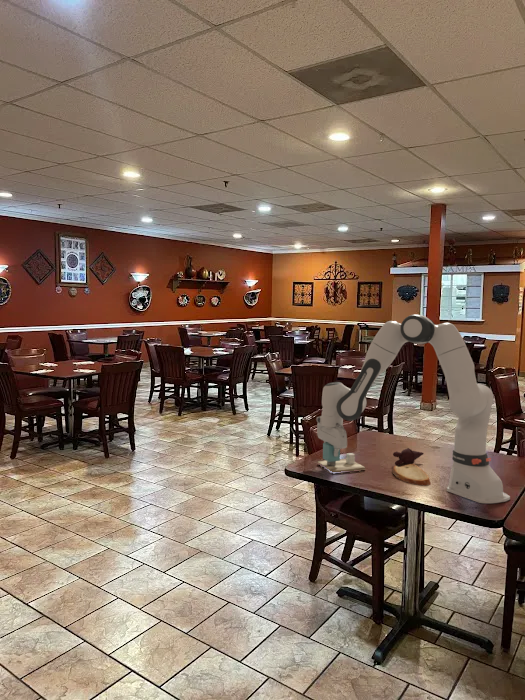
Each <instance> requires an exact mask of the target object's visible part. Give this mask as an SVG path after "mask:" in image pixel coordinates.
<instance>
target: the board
mask: <svg viewBox="0 0 525 700" xmlns="http://www.w3.org/2000/svg"><path fill="white" fill-rule="evenodd" d="M317 462H318V463H320V464H322V465H323V466H325V467H326V468H327V469H329V470H330V471H332V472H341V471H354V470H365V471H366V467H365V466H364V465H362V464H360V463H358V462H356V461H355V464H347V463H346V458H340V461H336V466H328V465H327V461H326V460H318V461H316V463H317Z"/></svg>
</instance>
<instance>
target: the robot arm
mask: <svg viewBox="0 0 525 700" xmlns="http://www.w3.org/2000/svg"><path fill="white" fill-rule="evenodd" d="M408 342H409V343H413V344H414V345H415V344H416V345H425V344H430V345H431V346H432V347H433V350H434V352H435V355H436V357H437V359H438V361H439V364H440V367H441V370H442V373H443V375H444V377H445V382H446V386H447V392H448V397H449V400H448V407H449V409H450V411H451V412H452V413H453V414H454V415H456V416H457V417H458V418H457V423H456V426H455V428H454V442H453V443H454V444H453V450H452V453H451V455H452V462H453V463H452V466H451V469H450V474H449V481H448V484H447V487H446V491H447V492H449V493H452V494H454V495H457V496H459V497H463V498H465V499H468V500H471V501H474V502H476V503H479V504H499V503H504V502H508V501H510V500H511V496H510V495H508V493H506V492H504V487H503V481H502V480H501V478H500V476H498V474H497V473H496V472H495V471H494V470H493V468H492V467H491V466H490V462H491V461H492V458H491V457H488V454H487V437H488V436H487V435H488V428H489V423H490V417H491V411H492V407H493V406H492V405H493V401H494V394H493V391H492V390H491V388H490V387H489V386H487V385H485V384H481V383H477V378H476V372H475V363H474V361H473V358H472V357H471V354H470V351H469V348H468V347H467V345H466V343H465V340H464V338H463V336H462V335H461V333H460V332H459V330H458V328H457V327H456V326H455V325H454V324H453V323H450V322H443V323H439V324H435V322H434V321H433V320H432V319H430V317H429V318H428V317H427V316H425V315H422V314H410V315H408V316H407V317H405V318H404V319H403V320H402V321H401V323H400V322H398V321H396V320H394V321H393V320H388V321H386V322H385V323H384V324H383V325H382V326H381V328H379V330H378V332H377V333H376V334H375V336H374V337H373V339H372V341H371V342H370V345H369V347H368V348H367V349H368V350H367V352H366V354H365V358H364V361H363V363H362V367H361V369H360V371H359V374H358V375H357V377H356V379H355V381H354V383H353V384H352V386H351V388H350V387H347V386H346V385H344V384H343V383H342V382H340V381H334V382H329V383H327V384H325V385H324V386H323V388H322V394H321V395H322V396H321V406H322V409H321V415H320V416H317V417H316V422H317V424H316V430H317V431H316V435H317V438H318V439H320V440H321V441H323V443H329V444H331V445H333V446H334V452H333V456H335V457H336V456H338V452H339V449H340V450H342V449H346V448H347V447H348V436H347V435H348V434H347V431H346V429H345V427H344V425H343V424H344V421H348V422H352V421H356V420H357V419H359V418H360V417H361V415H362V413H364V411H365V409H366V408H367V404H368V403H367V402H368V401H367V398H366V396H367V394H368V393H369V391H370V389H371V387H372V385H373V383H374V382H375V380H376V379H377V378H378V377H380V375H382V373H384V372H385V371H386V370H387V369H388V368H389V367H390V366H391V364H392V363H393V362H394V360H395V359H396V358H397V355H398V354H399V352H400V350H401V349H402V347H403V346H404V345H405V343H408Z"/></svg>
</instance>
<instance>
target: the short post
mask: <svg viewBox="0 0 525 700" xmlns="http://www.w3.org/2000/svg"><path fill="white" fill-rule="evenodd" d="M355 456H356V454H355V453H353V452H348V453H346V455H345V459H346V463H347V464H355V462H356V461H355V459H356V457H355Z"/></svg>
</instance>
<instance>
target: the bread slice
mask: <svg viewBox="0 0 525 700" xmlns="http://www.w3.org/2000/svg"><path fill="white" fill-rule="evenodd" d="M391 473H392V475H393V474H394V475H395V476H396V477H395V476H394V475H393V476H394V477H395V478H397V479H399V478H400V479H401V480H400V479H399V480H400V481H403V482H406V483H408V484H411V485H417V486H431V485H432V483H431V480H430V477H429V475H428V474H427V473H426V471H424V470H423V469H422V468H421V467H419V466H418V465H417V464H415V463H413V464H405V465H402V466H401V465H400V466H398V465H394V466H393V468H392V469H391Z"/></svg>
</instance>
